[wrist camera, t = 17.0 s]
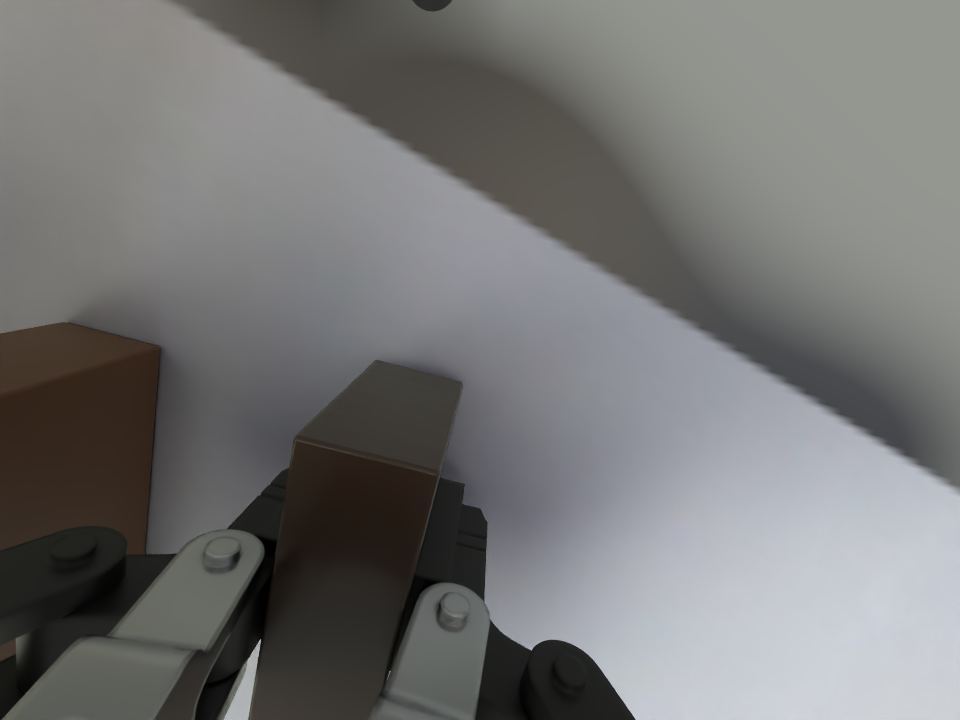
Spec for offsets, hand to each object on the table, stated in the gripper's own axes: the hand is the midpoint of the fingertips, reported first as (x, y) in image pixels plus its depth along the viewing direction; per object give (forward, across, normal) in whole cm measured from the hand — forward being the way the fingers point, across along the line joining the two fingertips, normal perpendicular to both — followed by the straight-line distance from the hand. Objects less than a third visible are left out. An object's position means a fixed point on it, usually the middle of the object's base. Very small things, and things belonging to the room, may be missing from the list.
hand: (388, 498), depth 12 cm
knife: (0, 0, +4) cm, 5 cm away
